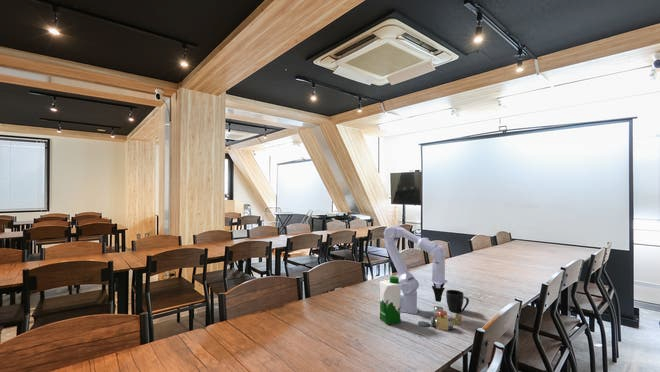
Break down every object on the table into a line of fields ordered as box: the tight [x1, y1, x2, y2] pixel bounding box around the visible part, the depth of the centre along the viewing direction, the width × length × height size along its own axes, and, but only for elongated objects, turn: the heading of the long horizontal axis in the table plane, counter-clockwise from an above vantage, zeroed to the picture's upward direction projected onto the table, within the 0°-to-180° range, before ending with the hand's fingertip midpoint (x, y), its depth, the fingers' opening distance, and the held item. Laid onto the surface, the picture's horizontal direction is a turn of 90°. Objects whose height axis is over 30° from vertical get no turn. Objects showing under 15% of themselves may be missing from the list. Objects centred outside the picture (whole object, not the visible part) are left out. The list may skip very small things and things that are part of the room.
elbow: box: [450, 313, 463, 326], centre depth 137 cm, size 4×2×4 cm, turn 88°
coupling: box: [432, 305, 444, 319], centre depth 143 cm, size 4×4×5 cm
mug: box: [445, 289, 470, 314], centre depth 151 cm, size 8×12×10 cm
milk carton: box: [379, 276, 402, 326], centre depth 139 cm, size 9×9×20 cm
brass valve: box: [430, 309, 454, 331], centre depth 133 cm, size 9×5×7 cm, turn 68°
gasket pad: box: [417, 320, 432, 328], centre depth 136 cm, size 6×6×1 cm
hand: (438, 298), depth 143 cm, fingers open, 7 cm apart
